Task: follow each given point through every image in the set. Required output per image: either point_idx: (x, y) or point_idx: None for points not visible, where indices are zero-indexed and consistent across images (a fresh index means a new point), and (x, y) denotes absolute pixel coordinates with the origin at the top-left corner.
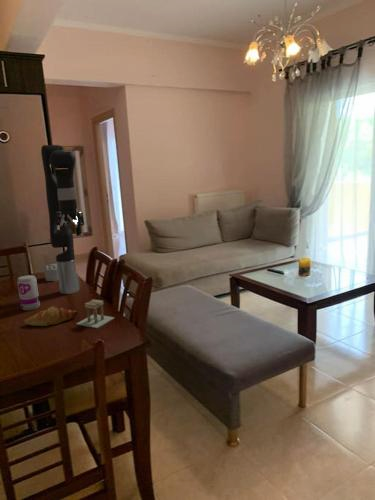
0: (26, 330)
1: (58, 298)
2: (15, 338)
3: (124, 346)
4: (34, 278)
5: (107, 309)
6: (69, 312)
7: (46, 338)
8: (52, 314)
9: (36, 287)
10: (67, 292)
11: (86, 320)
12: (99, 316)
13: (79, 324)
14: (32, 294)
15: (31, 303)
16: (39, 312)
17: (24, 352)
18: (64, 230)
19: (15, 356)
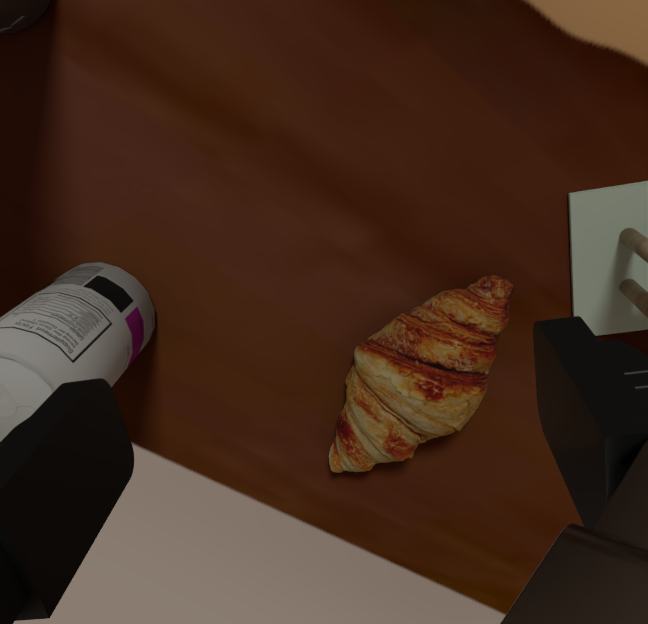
0: (394, 482)
1: (78, 112)
2: (429, 542)
3: None
4: (52, 369)
5: (584, 77)
6: (498, 331)
7: (561, 490)
8: (466, 421)
9: (91, 335)
10: (37, 11)
11: (599, 284)
12: (633, 205)
13: (599, 334)
14: (121, 357)
15: (141, 344)
16: (387, 448)
17: None
18: (77, 483)
19: None
